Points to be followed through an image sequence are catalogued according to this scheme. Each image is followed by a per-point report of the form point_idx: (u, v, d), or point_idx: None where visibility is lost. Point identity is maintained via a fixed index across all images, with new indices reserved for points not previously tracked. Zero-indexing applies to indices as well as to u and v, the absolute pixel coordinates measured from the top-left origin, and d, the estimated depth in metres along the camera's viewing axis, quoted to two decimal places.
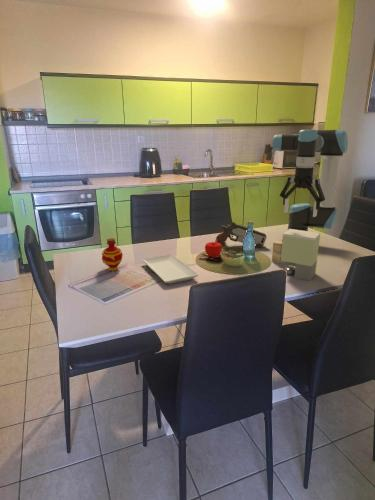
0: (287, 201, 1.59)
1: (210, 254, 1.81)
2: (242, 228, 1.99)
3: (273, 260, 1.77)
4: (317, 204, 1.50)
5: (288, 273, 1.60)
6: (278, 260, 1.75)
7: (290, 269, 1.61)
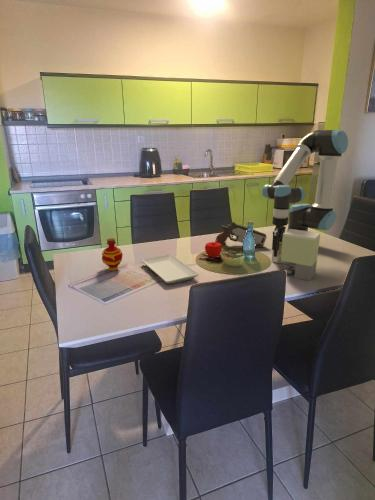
0: None
1: (210, 254, 1.81)
2: (242, 228, 1.98)
3: None
4: None
5: (288, 273, 1.60)
6: (278, 260, 1.75)
7: (290, 269, 1.61)
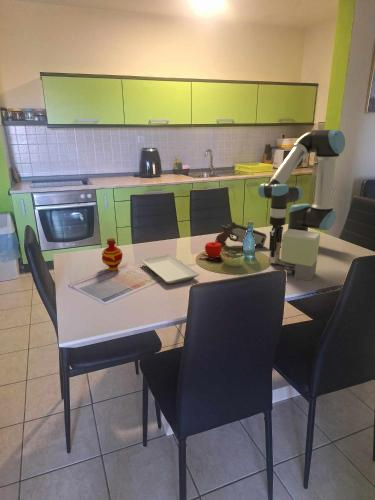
0: None
1: (210, 254, 1.81)
2: (242, 228, 1.98)
3: None
4: None
5: (288, 273, 1.60)
6: None
7: (290, 269, 1.61)
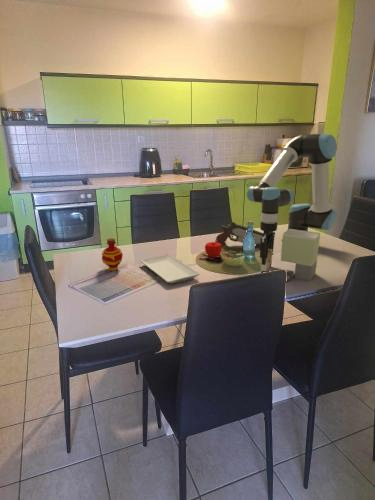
0: None
1: (210, 254, 1.81)
2: (242, 228, 1.98)
3: None
4: None
5: None
6: (267, 268, 1.62)
7: None
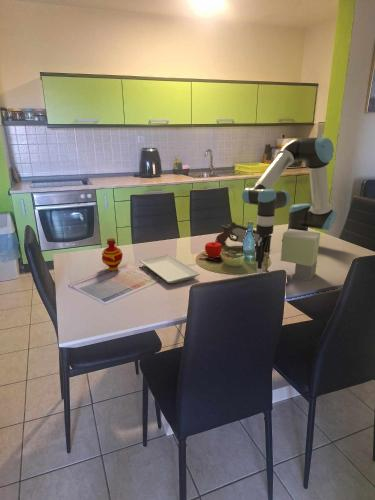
0: None
1: (210, 254, 1.81)
2: (242, 228, 1.98)
3: None
4: None
5: None
6: None
7: None
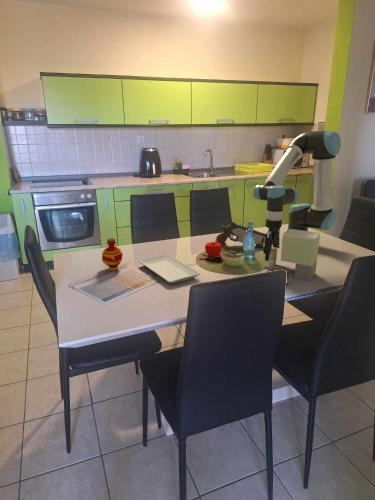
0: None
1: (210, 254, 1.81)
2: (242, 228, 1.98)
3: None
4: None
5: None
6: (271, 266, 1.67)
7: None
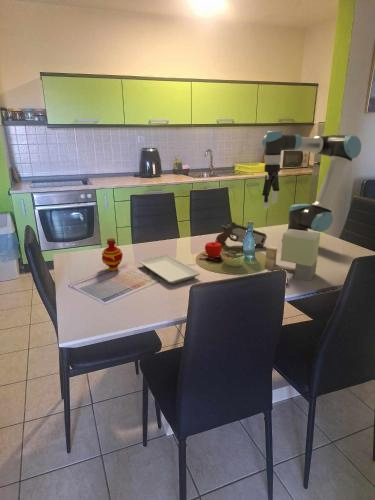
0: (274, 193, 1.80)
1: (210, 254, 1.81)
2: (242, 228, 1.98)
3: (266, 266, 1.69)
4: None
5: None
6: (271, 266, 1.67)
7: None
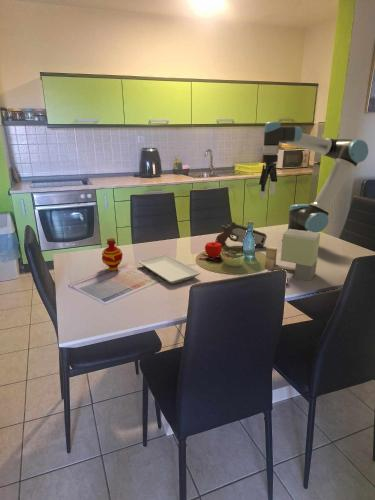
0: (271, 184, 1.85)
1: (210, 254, 1.81)
2: (242, 228, 1.98)
3: (266, 266, 1.69)
4: None
5: None
6: (271, 266, 1.67)
7: None
